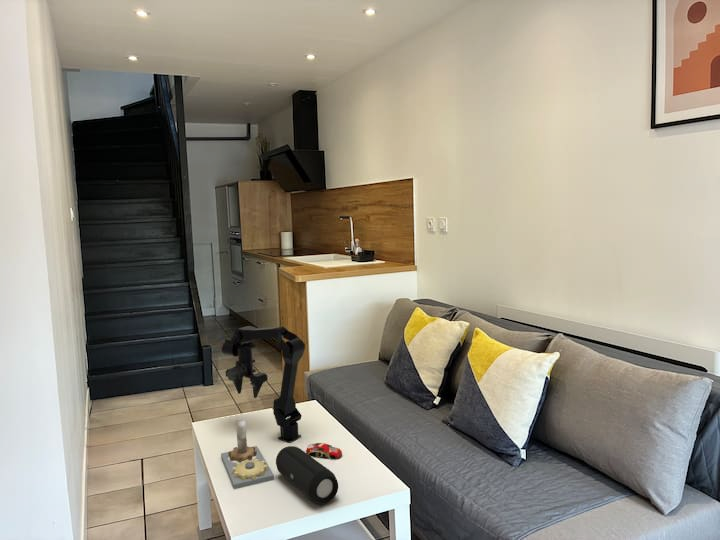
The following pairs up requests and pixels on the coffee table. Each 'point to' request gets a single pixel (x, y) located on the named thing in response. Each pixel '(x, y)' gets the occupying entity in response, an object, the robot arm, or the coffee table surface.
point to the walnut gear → (242, 445)
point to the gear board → (248, 481)
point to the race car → (323, 451)
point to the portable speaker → (307, 474)
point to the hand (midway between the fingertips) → (247, 395)
